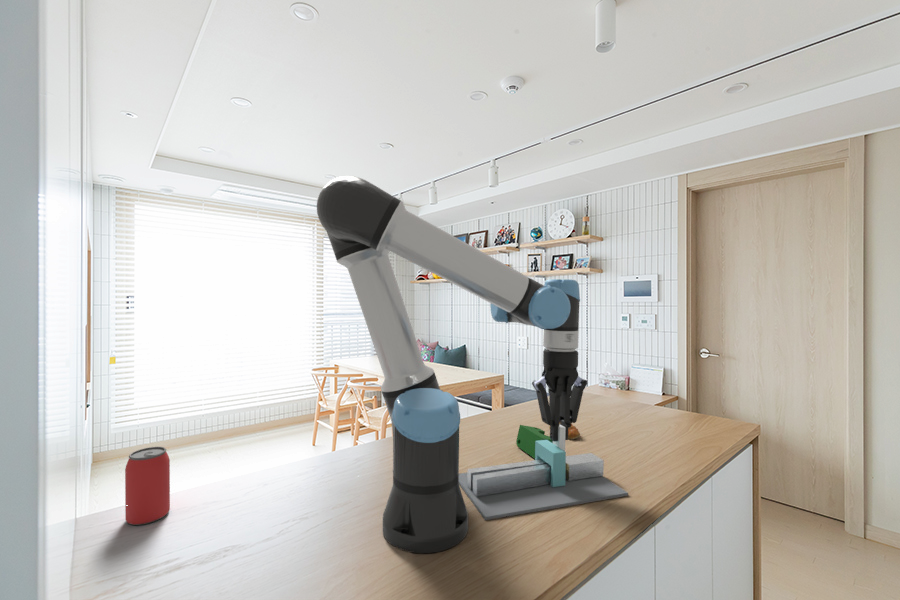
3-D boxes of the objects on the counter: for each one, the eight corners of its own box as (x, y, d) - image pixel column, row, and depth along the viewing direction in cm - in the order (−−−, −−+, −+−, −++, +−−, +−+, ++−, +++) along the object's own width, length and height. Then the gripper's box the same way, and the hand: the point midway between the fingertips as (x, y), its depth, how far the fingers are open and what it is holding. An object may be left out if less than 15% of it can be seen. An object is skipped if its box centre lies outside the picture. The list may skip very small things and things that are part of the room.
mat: (485, 520, 76) (485, 517, 76) (453, 476, 93) (453, 474, 93) (628, 495, 85) (628, 492, 85) (575, 460, 103) (575, 458, 103)
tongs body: (474, 496, 83) (475, 477, 83) (467, 486, 88) (467, 468, 87) (603, 476, 93) (603, 460, 93) (591, 468, 97) (591, 452, 97)
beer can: (135, 531, 71) (134, 462, 71) (119, 519, 75) (118, 454, 74) (176, 514, 77) (176, 450, 77) (159, 504, 80) (159, 442, 80)
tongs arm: (476, 496, 83) (476, 479, 83) (472, 492, 84) (473, 475, 84) (557, 482, 89) (557, 466, 89) (552, 478, 91) (552, 463, 91)
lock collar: (552, 487, 87) (553, 453, 87) (534, 472, 94) (535, 440, 94) (565, 485, 88) (565, 451, 88) (546, 470, 95) (546, 439, 95)
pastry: (585, 438, 119) (586, 425, 119) (567, 442, 116) (568, 429, 116) (563, 429, 127) (563, 416, 127) (546, 432, 124) (546, 419, 124)
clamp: (550, 473, 105) (565, 446, 102) (530, 471, 103) (545, 443, 100) (531, 440, 116) (544, 415, 113) (513, 438, 114) (526, 411, 111)
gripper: (543, 352, 86) (541, 464, 86) (596, 350, 90) (594, 458, 90) (526, 347, 93) (524, 451, 93) (575, 346, 97) (573, 445, 97)
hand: (558, 454), depth 92 cm, fingers closed
